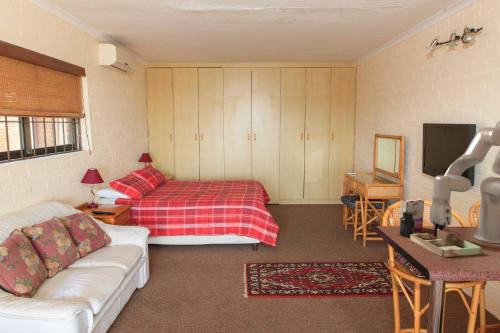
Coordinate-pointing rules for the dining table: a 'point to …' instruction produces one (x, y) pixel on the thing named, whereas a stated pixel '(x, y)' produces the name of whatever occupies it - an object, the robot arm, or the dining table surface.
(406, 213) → the supplement bottle
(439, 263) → the dining table surface
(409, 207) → the candy bar box
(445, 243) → the tan wooden block
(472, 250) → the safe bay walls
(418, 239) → the lane box
